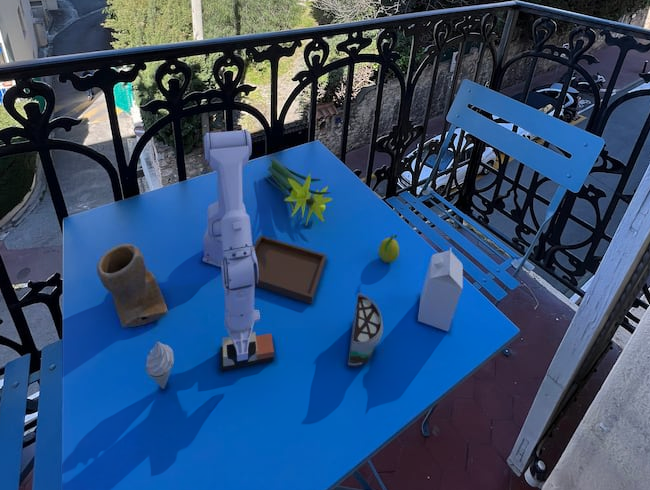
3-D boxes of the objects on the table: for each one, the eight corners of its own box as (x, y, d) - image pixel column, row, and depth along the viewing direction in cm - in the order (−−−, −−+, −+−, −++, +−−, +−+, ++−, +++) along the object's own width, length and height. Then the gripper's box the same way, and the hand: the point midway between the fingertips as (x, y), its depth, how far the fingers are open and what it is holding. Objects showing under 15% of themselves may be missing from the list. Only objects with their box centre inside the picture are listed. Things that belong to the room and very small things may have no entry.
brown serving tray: (238, 280, 103) (238, 273, 102) (259, 241, 115) (260, 235, 114) (311, 304, 99) (312, 297, 98) (325, 261, 111) (326, 254, 110)
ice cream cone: (161, 408, 77) (154, 360, 71) (144, 391, 79) (136, 343, 73) (182, 384, 81) (177, 337, 75) (165, 368, 83) (159, 321, 77)
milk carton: (449, 306, 101) (466, 251, 93) (448, 332, 95) (467, 276, 87) (420, 296, 103) (435, 242, 95) (417, 321, 97) (433, 265, 89)
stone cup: (101, 290, 98) (91, 246, 92) (152, 269, 104) (146, 226, 98) (113, 345, 87) (103, 298, 80) (169, 317, 93) (164, 272, 87)
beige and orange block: (221, 371, 84) (220, 358, 82) (220, 350, 88) (220, 337, 86) (273, 361, 86) (274, 348, 84) (270, 340, 90) (271, 328, 88)
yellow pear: (381, 272, 109) (386, 245, 105) (371, 254, 114) (376, 228, 110) (402, 266, 111) (409, 240, 107) (392, 250, 116) (398, 224, 112)
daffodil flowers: (301, 169, 148) (354, 210, 118) (271, 198, 144) (319, 248, 114) (275, 137, 141) (326, 172, 111) (243, 167, 137) (287, 211, 107)
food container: (376, 381, 84) (383, 352, 80) (347, 373, 85) (352, 344, 81) (379, 325, 95) (385, 297, 91) (353, 319, 96) (358, 290, 92)
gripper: (264, 335, 74) (262, 379, 80) (256, 269, 87) (255, 311, 92) (225, 342, 72) (226, 386, 78) (222, 273, 85) (223, 316, 91)
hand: (239, 346), depth 85 cm, fingers open, 7 cm apart
